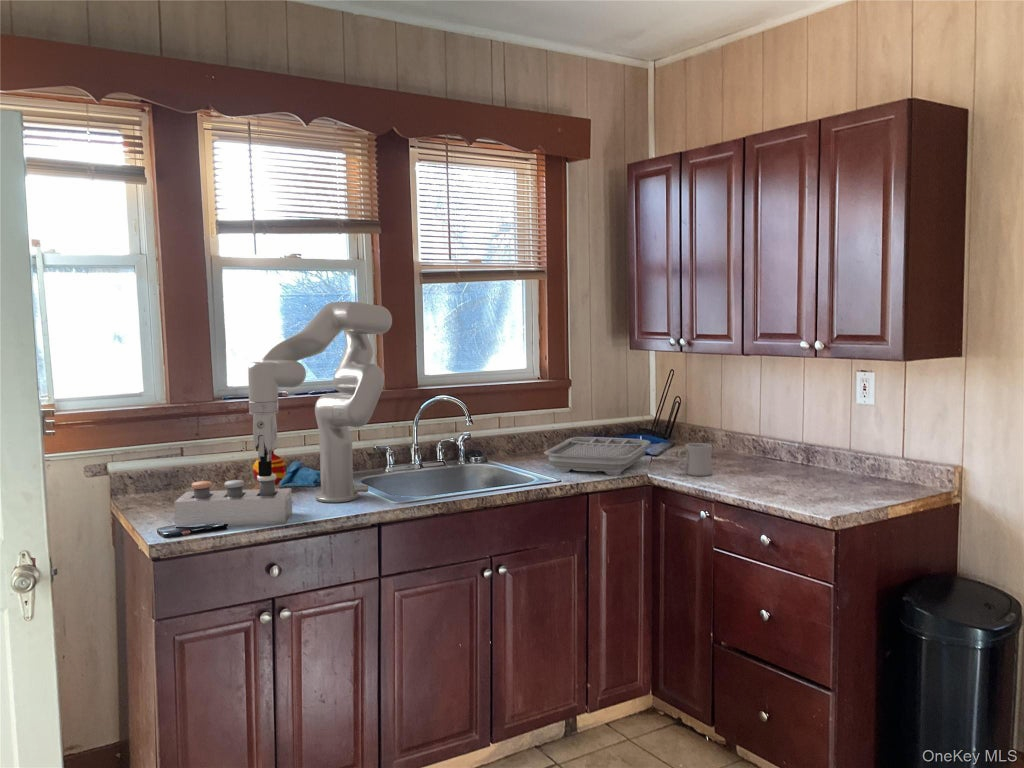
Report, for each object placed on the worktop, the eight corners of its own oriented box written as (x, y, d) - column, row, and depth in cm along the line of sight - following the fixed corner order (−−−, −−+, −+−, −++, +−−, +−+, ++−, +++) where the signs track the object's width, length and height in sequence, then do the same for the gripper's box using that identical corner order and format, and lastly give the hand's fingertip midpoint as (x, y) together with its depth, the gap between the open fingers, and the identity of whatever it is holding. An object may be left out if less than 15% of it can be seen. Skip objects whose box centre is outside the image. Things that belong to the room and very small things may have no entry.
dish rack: (538, 473, 281) (538, 450, 280) (572, 455, 314) (572, 435, 314) (628, 480, 268) (628, 456, 268) (653, 461, 302) (653, 439, 301)
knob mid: (246, 508, 223) (245, 479, 222) (243, 513, 218) (242, 483, 217) (228, 509, 223) (226, 480, 222) (223, 513, 218) (222, 484, 217)
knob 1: (214, 509, 222) (213, 480, 221) (210, 514, 217) (208, 484, 216) (195, 510, 221) (194, 481, 221) (190, 515, 217) (189, 485, 216)
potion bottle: (250, 488, 260) (248, 441, 258) (283, 485, 265) (282, 439, 263) (256, 495, 251) (254, 446, 249) (290, 491, 255) (289, 443, 254)
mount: (292, 512, 228) (291, 488, 228) (285, 523, 216) (284, 497, 216) (187, 516, 225) (186, 491, 224) (175, 528, 213) (174, 501, 212)
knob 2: (278, 502, 224) (277, 473, 223) (275, 506, 219) (274, 477, 218) (259, 502, 223) (258, 473, 223) (256, 507, 218) (255, 477, 218)
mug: (704, 470, 282) (704, 442, 281) (717, 475, 274) (717, 446, 273) (671, 472, 279) (671, 443, 278) (683, 478, 270) (683, 448, 269)
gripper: (273, 410, 212) (275, 480, 213) (282, 405, 227) (283, 470, 228) (243, 411, 211) (245, 481, 212) (254, 405, 226) (256, 471, 227)
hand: (265, 475), depth 220 cm, fingers closed
